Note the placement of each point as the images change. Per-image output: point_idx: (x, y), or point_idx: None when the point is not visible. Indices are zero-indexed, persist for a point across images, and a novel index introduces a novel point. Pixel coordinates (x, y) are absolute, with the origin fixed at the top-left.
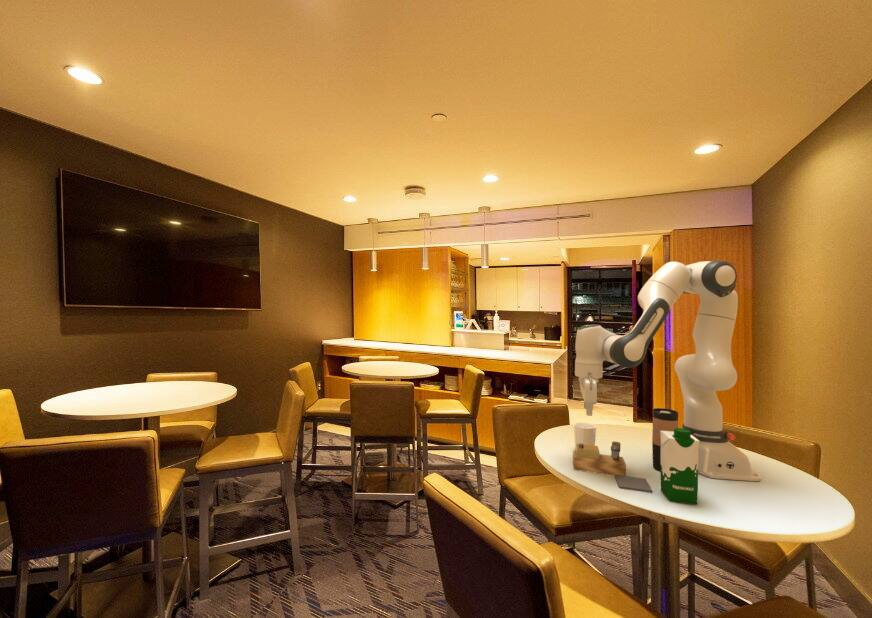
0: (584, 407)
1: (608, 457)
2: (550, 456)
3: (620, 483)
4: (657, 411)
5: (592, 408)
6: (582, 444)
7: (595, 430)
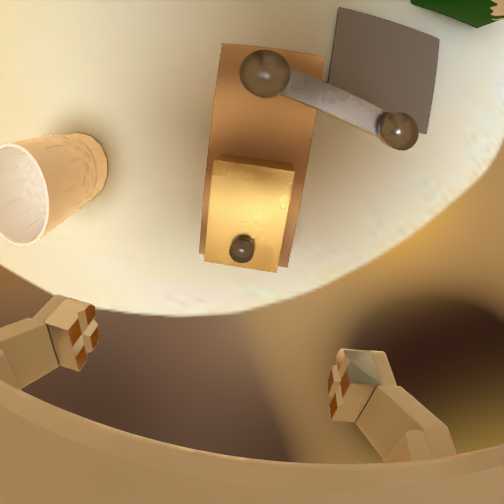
0: (94, 347)
1: (247, 109)
2: (173, 298)
3: None
4: None
5: (419, 407)
6: (244, 246)
7: (32, 145)
